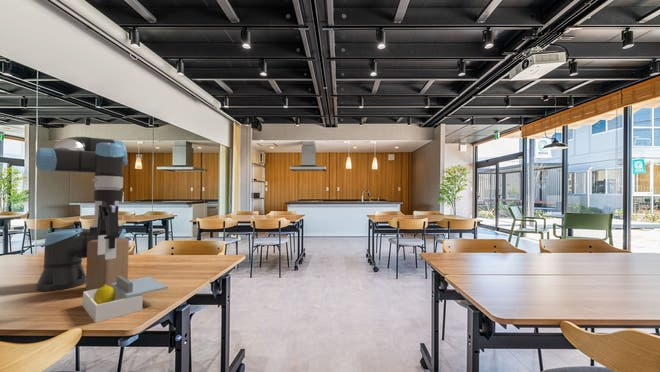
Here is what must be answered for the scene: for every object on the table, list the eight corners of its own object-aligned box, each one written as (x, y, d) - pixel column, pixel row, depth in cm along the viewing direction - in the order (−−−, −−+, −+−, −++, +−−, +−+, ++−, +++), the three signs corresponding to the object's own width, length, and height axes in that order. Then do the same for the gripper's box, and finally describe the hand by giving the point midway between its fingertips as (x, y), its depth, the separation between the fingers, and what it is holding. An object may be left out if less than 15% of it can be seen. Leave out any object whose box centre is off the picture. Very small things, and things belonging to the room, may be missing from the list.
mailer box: (82, 306, 95) (83, 291, 95) (125, 296, 104) (125, 283, 104) (95, 322, 83) (96, 305, 83) (142, 310, 92) (142, 294, 92)
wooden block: (105, 294, 107) (106, 241, 108) (84, 292, 109) (86, 240, 110) (128, 286, 117) (130, 238, 118) (109, 284, 119) (110, 237, 120)
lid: (111, 285, 101) (112, 275, 101) (149, 278, 110) (149, 268, 110) (127, 297, 89) (127, 285, 89) (168, 288, 98) (168, 277, 98)
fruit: (118, 304, 95) (119, 281, 95) (107, 311, 89) (108, 286, 90) (101, 305, 94) (102, 281, 95) (88, 312, 89) (89, 286, 89)
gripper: (87, 189, 98) (84, 253, 97) (102, 188, 84) (100, 263, 83) (113, 189, 104) (111, 250, 103) (132, 189, 89) (130, 259, 89)
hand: (106, 256), depth 93 cm, fingers open, 10 cm apart
